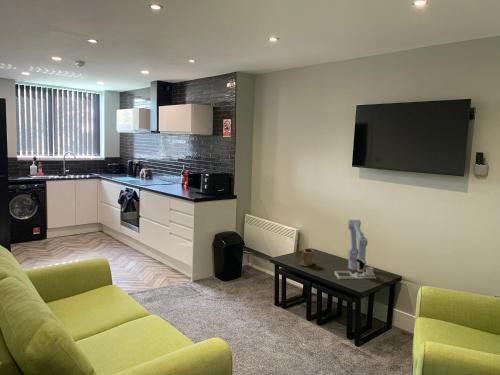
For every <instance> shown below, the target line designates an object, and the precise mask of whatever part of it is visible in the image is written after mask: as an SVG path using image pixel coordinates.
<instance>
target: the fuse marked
mask: <svg viewBox="0 0 500 375" xmlns="http://www.w3.org/2000/svg"><path fill="white" fill-rule="evenodd" d="M356 271H358V272H362V273H363V272H365V267H364V268H363V270H360V264H359V262H358V267H357V270H356ZM358 272H357V273H358Z"/></svg>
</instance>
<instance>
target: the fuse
mask: <svg viewBox="0 0 500 375" xmlns="http://www.w3.org/2000/svg"><path fill="white" fill-rule="evenodd" d="M365 273H366V274H367V277H368V276H373V273H374V267H371V266H369V267H367V266H366V267H365Z"/></svg>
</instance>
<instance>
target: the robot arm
mask: <svg viewBox="0 0 500 375" xmlns="http://www.w3.org/2000/svg"><path fill="white" fill-rule="evenodd" d="M361 224H362V223H361V220H360V219H348V222H347V228H348V230H349V231H350V233H349V234H350V249H349V250H348V252H347V253H348V254H347V258H348V266H347V267H346V268H348V269H349V270H351V271H357V267H358V262H359V264H360V270H363V268H364V269H365V266H366V263H367V261H366V251H367V250H366V249H367V246H368V239H367V238H366V237H365V234H364V233H363V232H362V231H361Z"/></svg>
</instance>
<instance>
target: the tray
mask: <svg viewBox="0 0 500 375" xmlns="http://www.w3.org/2000/svg"><path fill="white" fill-rule="evenodd" d="M339 274H349V276H347V275H346V276H344V275H343V276H341V275H339ZM353 274H354V273H352V272H351V271H350V270H335V271H334V275H335V277H336V278H337V280H338V281H340V280H355V279H356V278H355V277H354V275H353Z"/></svg>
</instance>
